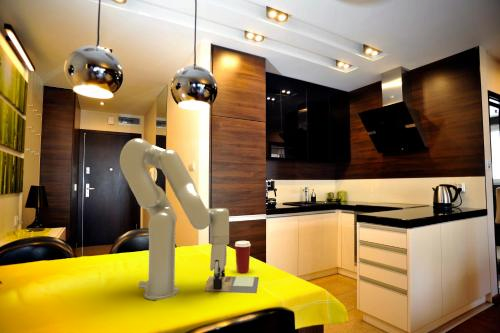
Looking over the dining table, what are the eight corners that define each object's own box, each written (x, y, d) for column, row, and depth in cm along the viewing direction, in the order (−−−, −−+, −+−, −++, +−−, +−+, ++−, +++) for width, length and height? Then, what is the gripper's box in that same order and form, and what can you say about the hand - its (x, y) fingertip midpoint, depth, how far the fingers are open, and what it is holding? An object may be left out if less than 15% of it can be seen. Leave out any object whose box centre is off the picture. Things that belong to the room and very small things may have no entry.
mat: (204, 292, 104) (204, 291, 104) (214, 276, 122) (214, 275, 122) (256, 294, 102) (256, 292, 102) (258, 277, 120) (258, 276, 120)
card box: (206, 290, 105) (206, 281, 105) (209, 285, 111) (209, 275, 111) (229, 291, 104) (229, 281, 105) (231, 285, 110) (231, 276, 110)
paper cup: (254, 272, 128) (254, 242, 129) (242, 276, 122) (242, 244, 123) (242, 268, 133) (242, 239, 134) (230, 272, 128) (231, 242, 129)
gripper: (214, 235, 118) (214, 278, 117) (205, 244, 101) (204, 294, 99) (232, 235, 117) (231, 278, 116) (225, 244, 100) (224, 295, 99)
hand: (219, 285), depth 108 cm, fingers closed on card box, 6 cm apart
